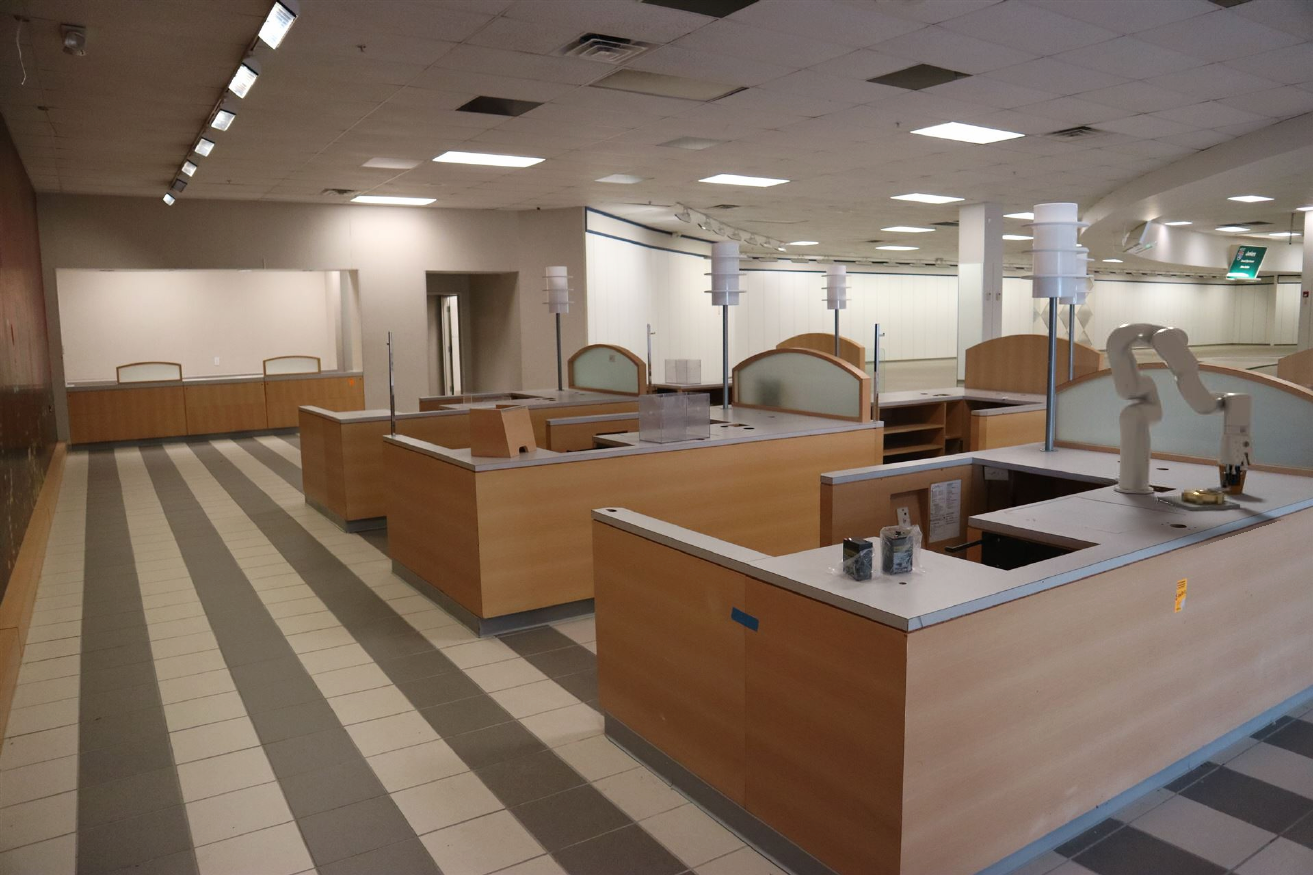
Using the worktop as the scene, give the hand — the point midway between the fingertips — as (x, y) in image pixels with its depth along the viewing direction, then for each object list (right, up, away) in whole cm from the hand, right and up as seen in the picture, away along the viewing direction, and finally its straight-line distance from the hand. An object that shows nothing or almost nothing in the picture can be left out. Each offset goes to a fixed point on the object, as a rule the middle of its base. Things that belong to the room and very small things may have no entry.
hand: (1233, 485), depth 296 cm
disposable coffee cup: (+11, -4, +19) cm, 22 cm away
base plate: (-11, -6, +2) cm, 13 cm away
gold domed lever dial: (-7, -5, +2) cm, 9 cm away
